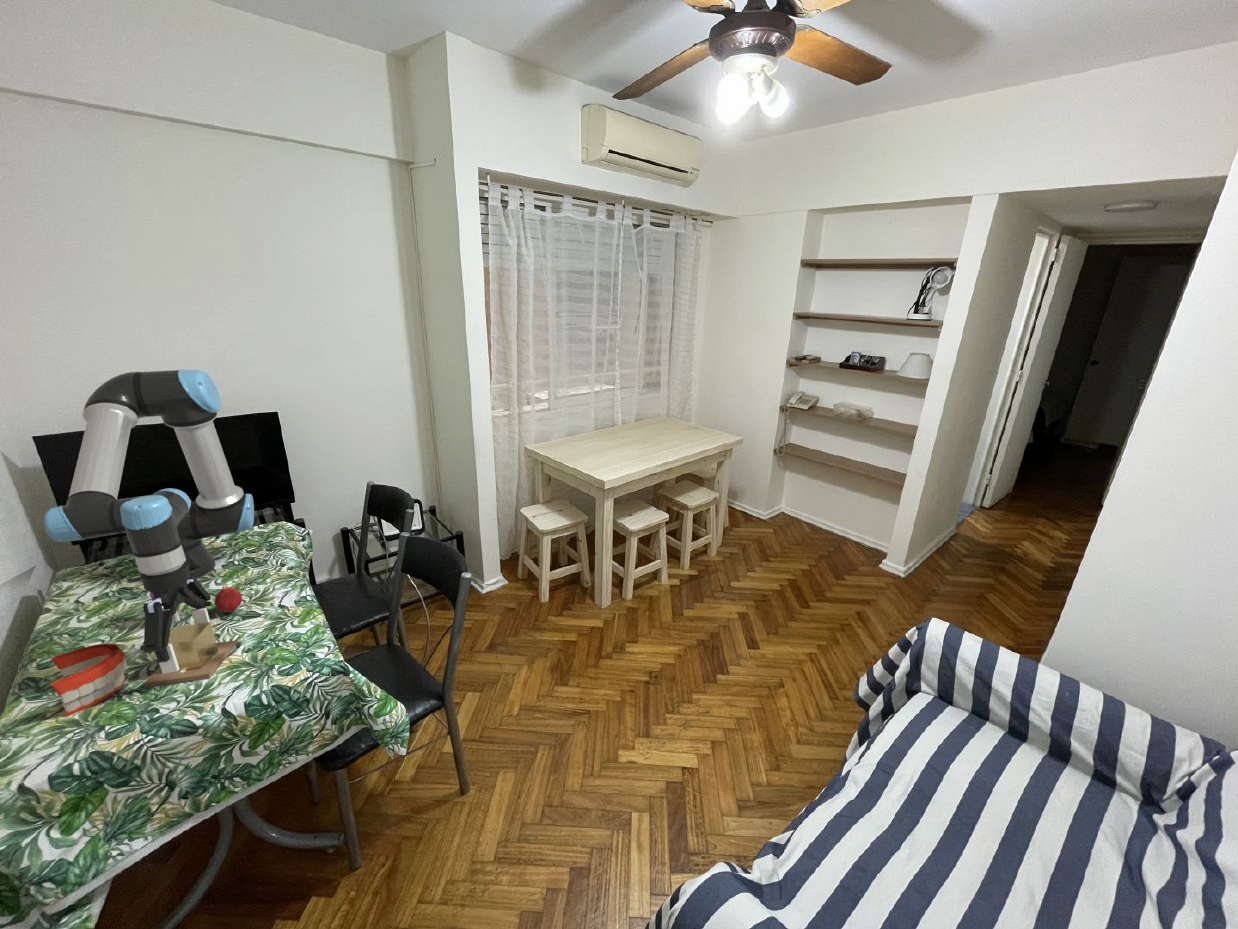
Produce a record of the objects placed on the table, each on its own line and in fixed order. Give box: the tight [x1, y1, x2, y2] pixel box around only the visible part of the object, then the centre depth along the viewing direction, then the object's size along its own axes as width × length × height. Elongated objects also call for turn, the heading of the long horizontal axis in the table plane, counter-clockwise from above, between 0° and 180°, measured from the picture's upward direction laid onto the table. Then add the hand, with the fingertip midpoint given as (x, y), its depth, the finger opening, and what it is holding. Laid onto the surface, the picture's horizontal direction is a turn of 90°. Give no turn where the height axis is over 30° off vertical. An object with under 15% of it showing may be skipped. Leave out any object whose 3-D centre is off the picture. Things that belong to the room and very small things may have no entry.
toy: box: [50, 643, 128, 717], centre depth 104 cm, size 12×10×8 cm
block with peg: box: [168, 621, 218, 671], centre depth 111 cm, size 10×7×7 cm
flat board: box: [143, 640, 237, 689], centre depth 112 cm, size 12×12×6 cm
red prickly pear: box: [214, 584, 243, 613], centre depth 131 cm, size 6×6×8 cm
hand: (189, 651), depth 111 cm, fingers open, 13 cm apart
